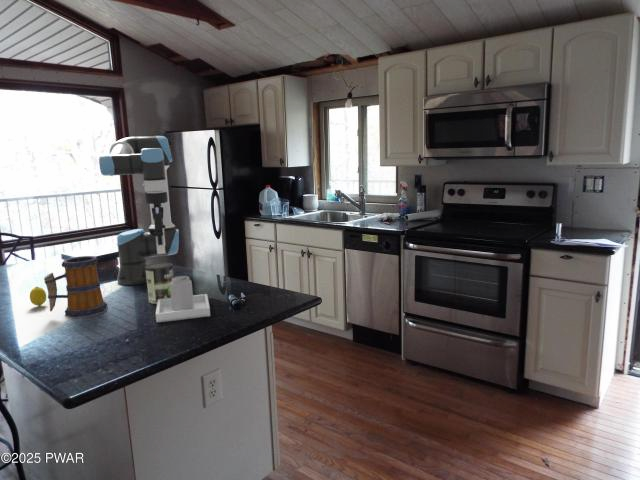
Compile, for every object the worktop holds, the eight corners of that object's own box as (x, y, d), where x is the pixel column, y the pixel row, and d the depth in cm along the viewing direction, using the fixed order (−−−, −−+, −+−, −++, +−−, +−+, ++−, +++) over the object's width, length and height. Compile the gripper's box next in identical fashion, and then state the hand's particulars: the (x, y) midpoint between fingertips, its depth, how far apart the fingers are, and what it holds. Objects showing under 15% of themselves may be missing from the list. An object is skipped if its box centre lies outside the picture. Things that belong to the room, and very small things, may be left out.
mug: (51, 324, 166) (42, 268, 163) (48, 313, 178) (40, 260, 175) (110, 312, 176) (104, 259, 173) (104, 303, 188) (98, 253, 185)
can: (190, 312, 171) (187, 280, 169) (169, 313, 171) (166, 280, 169) (196, 305, 178) (193, 274, 176) (176, 306, 179) (173, 275, 176)
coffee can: (180, 296, 194) (177, 262, 191) (167, 304, 184) (164, 268, 181) (157, 295, 196) (153, 262, 193) (143, 303, 186) (139, 268, 183)
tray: (158, 306, 181) (157, 299, 180) (207, 301, 186) (206, 293, 185) (156, 322, 164) (155, 314, 163) (210, 316, 169) (209, 307, 168)
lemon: (45, 303, 191) (42, 283, 189) (49, 306, 187) (46, 286, 185) (29, 306, 187) (26, 286, 186) (33, 309, 183) (30, 289, 182)
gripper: (146, 189, 183) (151, 243, 187) (143, 196, 159) (149, 258, 164) (166, 188, 185) (171, 241, 189) (166, 194, 161) (172, 256, 166)
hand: (161, 249), depth 177 cm, fingers open, 13 cm apart
